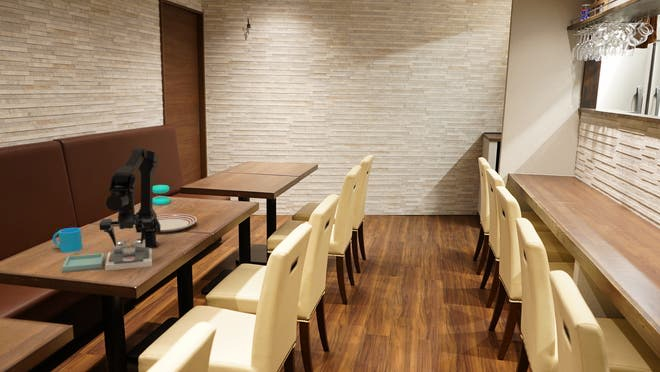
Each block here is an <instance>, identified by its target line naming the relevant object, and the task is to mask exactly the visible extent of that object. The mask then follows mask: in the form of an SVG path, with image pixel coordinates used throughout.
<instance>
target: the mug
mask: <svg viewBox="0 0 660 372" xmlns="http://www.w3.org/2000/svg"><path fill="white" fill-rule="evenodd" d="M57 236H58V241H57ZM82 241H83V240H82V229H81V228H80V227H68V228H63V229H60V230H59V229H58V231H57V232H55V233H54V235H53V236H52V242H53V244H54V245H55V246H56V247H58V248H59V250H60V251H59V252H60V253H65V254H68V253H76V252H79V251H81V250H83V242H82ZM58 242H59V243H58Z"/></svg>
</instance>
